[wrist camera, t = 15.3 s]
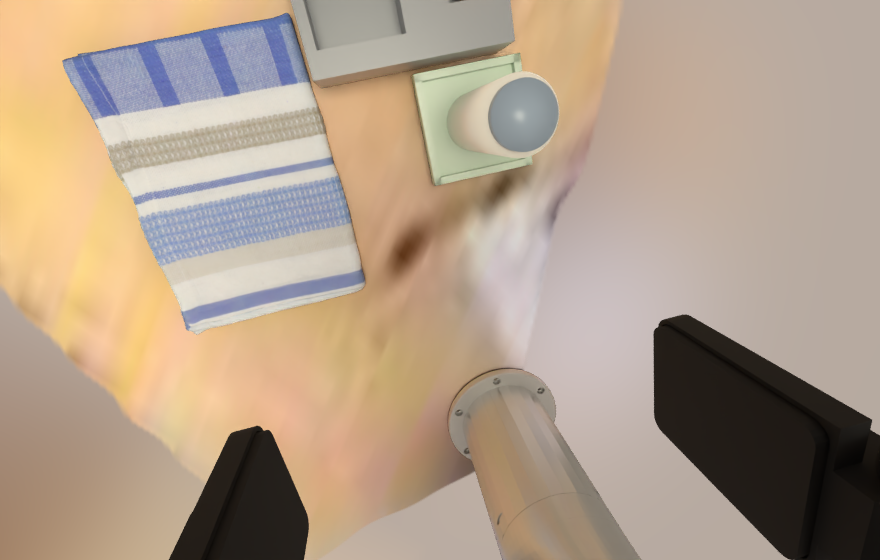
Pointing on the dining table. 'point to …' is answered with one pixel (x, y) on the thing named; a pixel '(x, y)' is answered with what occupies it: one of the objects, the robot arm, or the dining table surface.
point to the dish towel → (226, 168)
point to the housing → (397, 35)
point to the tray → (433, 106)
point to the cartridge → (506, 116)
